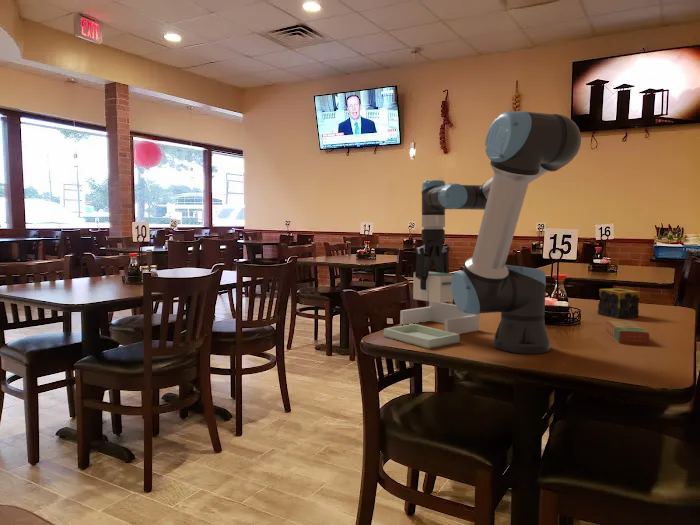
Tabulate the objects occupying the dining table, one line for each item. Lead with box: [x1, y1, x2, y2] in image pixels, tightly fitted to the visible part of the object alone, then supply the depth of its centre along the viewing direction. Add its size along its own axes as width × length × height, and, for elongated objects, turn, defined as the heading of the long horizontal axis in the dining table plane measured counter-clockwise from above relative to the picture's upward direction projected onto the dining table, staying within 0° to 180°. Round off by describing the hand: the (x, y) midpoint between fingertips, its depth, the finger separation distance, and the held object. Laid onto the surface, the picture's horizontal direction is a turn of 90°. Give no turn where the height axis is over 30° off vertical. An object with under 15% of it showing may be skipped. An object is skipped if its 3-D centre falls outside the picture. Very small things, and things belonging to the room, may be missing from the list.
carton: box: [605, 320, 650, 346], centre depth 161 cm, size 8×16×4 cm, turn 167°
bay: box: [399, 301, 480, 335], centre depth 175 cm, size 21×15×7 cm
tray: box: [383, 323, 461, 350], centre depth 157 cm, size 19×13×2 cm
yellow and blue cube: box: [597, 287, 641, 320], centre depth 199 cm, size 10×10×10 cm
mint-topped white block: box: [412, 271, 454, 303], centre depth 171 cm, size 13×6×9 cm, turn 38°
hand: (432, 298), depth 171 cm, fingers closed on mint-topped white block, 6 cm apart
